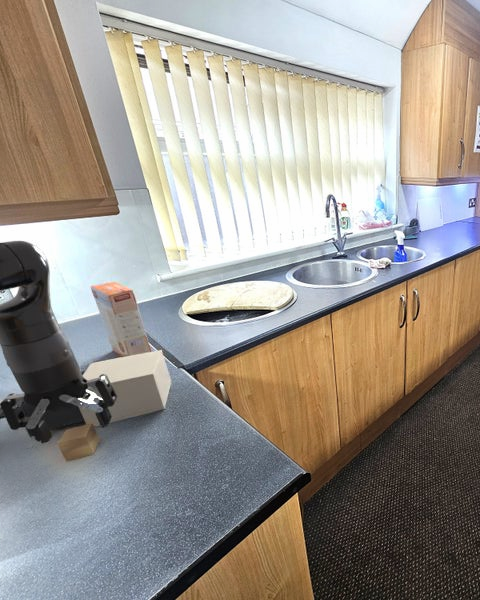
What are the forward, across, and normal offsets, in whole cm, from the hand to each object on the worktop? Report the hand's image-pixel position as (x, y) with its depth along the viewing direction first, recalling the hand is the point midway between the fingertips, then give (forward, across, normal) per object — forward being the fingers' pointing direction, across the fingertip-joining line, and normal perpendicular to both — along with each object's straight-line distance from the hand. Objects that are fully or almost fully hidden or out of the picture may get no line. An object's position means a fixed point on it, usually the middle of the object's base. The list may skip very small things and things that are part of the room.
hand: (77, 432), depth 62 cm
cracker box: (+4, 0, -41) cm, 41 cm away
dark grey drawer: (+3, +7, -13) cm, 15 cm away
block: (+4, 0, 0) cm, 4 cm away
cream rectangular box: (+4, -5, -13) cm, 15 cm away
